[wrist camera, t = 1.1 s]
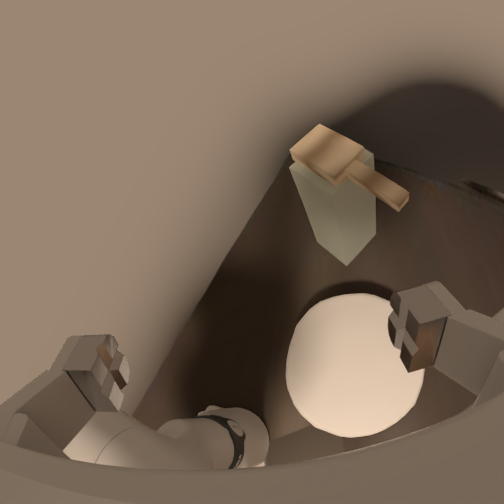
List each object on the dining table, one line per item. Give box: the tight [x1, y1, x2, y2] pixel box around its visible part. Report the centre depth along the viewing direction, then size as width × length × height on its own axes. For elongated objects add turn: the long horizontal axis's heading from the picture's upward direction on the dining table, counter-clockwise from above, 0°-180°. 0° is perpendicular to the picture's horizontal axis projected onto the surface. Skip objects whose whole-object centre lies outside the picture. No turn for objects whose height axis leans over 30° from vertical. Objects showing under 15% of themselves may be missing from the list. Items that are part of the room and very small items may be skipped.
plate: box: [286, 293, 425, 438], centre depth 53 cm, size 28×6×27 cm
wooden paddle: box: [290, 124, 409, 212], centre depth 43 cm, size 18×7×2 cm, turn 40°
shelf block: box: [289, 149, 376, 266], centre depth 57 cm, size 10×9×26 cm
